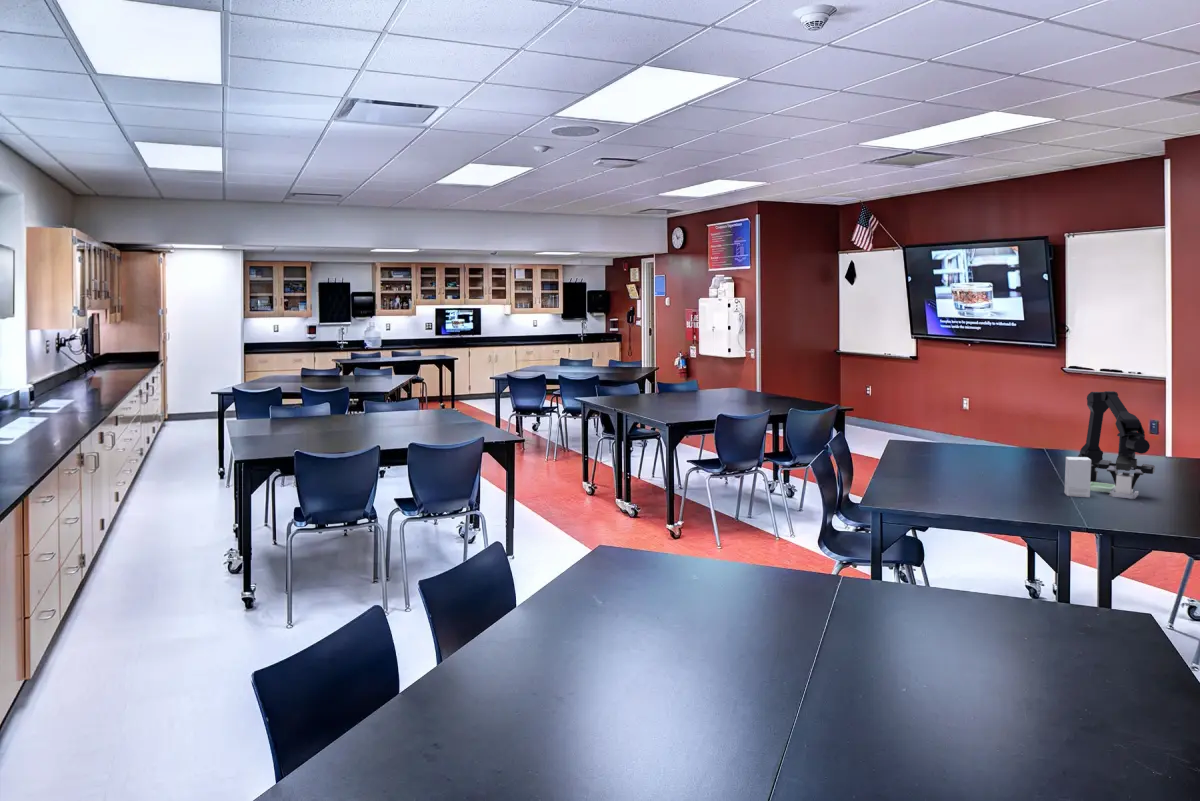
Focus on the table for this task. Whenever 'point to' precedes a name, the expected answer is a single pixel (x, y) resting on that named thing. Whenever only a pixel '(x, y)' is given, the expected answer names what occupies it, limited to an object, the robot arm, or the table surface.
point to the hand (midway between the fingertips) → (1124, 488)
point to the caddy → (1124, 483)
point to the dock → (1133, 496)
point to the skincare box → (1077, 476)
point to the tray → (1101, 487)
